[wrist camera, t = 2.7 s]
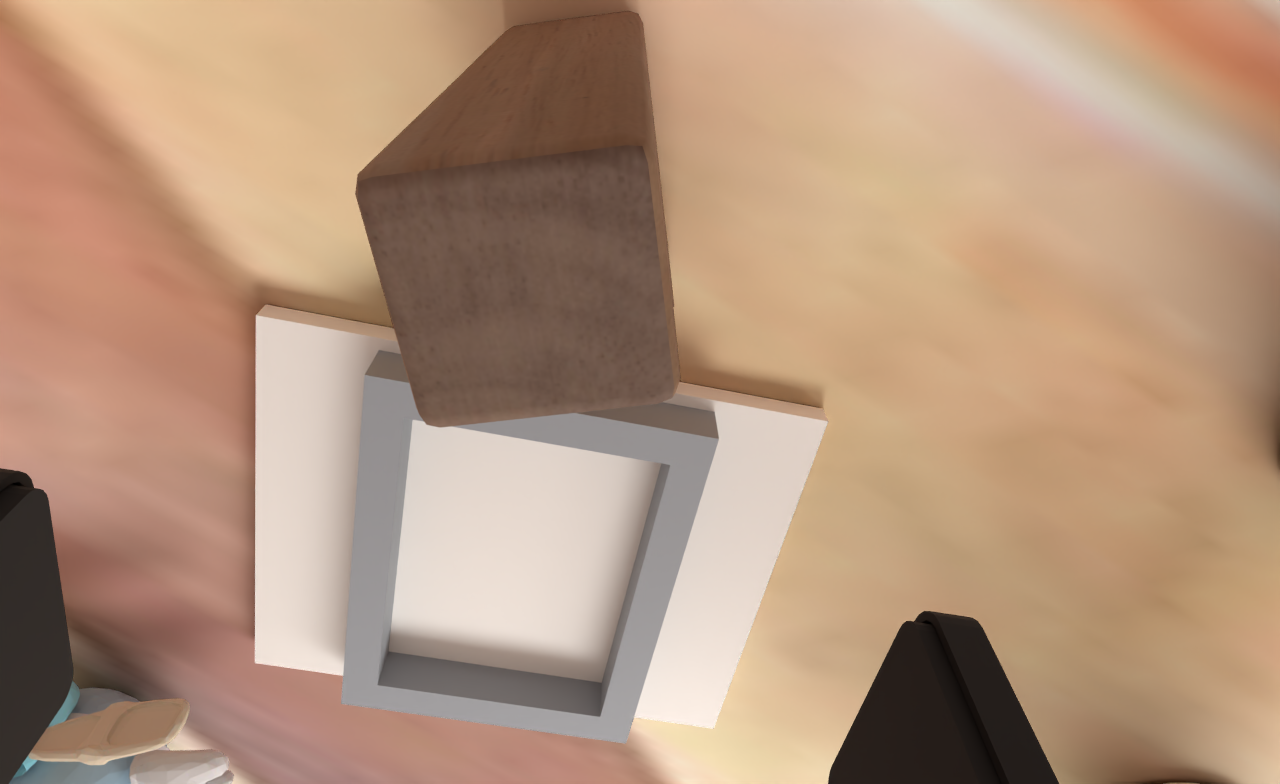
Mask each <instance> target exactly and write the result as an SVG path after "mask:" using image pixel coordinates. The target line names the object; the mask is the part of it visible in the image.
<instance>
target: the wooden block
mask: <svg viewBox="0 0 1280 784" xmlns="http://www.w3.org/2000/svg"><path fill="white" fill-rule="evenodd" d="M356 198H357V201H358V205H359V208H360V212H361V215H362V219H363V222H364V226H365V229H366V233H367V236H368V240H369V243H370V247H371V250H372V254H373V257H374V261H375V264H376V268H377V271H378V275H379V278H380V282H381V285H382V289H383V292H384V296H385V299H386V303H387V306H388V310H389V313H390V317H391V320H392V324H393V327H394V331H395V334H396V338H397V342H398V345H399V349H400V352H401V356H402V359H403V363H404V366H405V370H406V373H407V377H408V380H409V384H410V387H411V391H412V394H413V398H414V401H415V405H416V408H417V410H418V413H419V415H420V416H421V418H422V419H423V421H424V422H425V423H426V425H430V426H435V427H440V428H441V427H451V426H460V425H469V424H478V423H487V422H496V421H505V420H514V419H524V418H533V417H542V416H551V415H560V414H569V413H578V412H587V411H596V410H606V409H615V408H624V407H633V406H642V405H651V404H659V403H662V402H664V401H666V400H668V399H671V398H673V396H674V395H675V393H676V390H677V387H678V384H679V381H680V378H681V377H680V368H679V358H678V348H677V339H676V329H675V319H674V310H673V307H674V299H673V290H672V281H671V271H670V262H669V253H668V244H667V235H666V226H665V217H664V208H663V199H662V190H661V181H660V172H659V163H658V154H657V145H656V136H655V127H654V118H653V109H652V100H651V91H650V82H649V73H648V64H647V55H646V47H645V38H644V29H643V22H642V20H641V18H640V16H639V15H638V14H637V13H634V12H630V11H625V12H617V13H610V14H602V15H595V16H587V17H580V18H572V19H565V20H557V21H550V22H542V23H535V24H527V25H520V26H514V27H512V28H511V29H509V30H507V31H506V32H505V33H504V34H503V35H502V36H501V37H500V38H498V39H497V40H496V41H495V42H494V43H493V44H492V45H491V46H490V47H489V48H488V49H487V50H486V51H485V52H484V53H483V54H482V55H481V56H480V57H479V58H478V59H477V60H476V61H475V62H474V63H473V64H471V65H470V66H469V67H468V68H467V69H466V70H465V71H464V72H463V73H462V74H461V75H460V76H459V77H458V78H457V79H456V80H455V81H454V82H453V83H452V84H451V85H450V86H449V87H448V88H447V89H446V90H445V91H444V92H443V93H442V94H440V95H439V96H438V97H437V98H436V99H435V100H434V101H433V102H432V103H431V104H430V105H429V106H428V107H427V108H426V109H425V110H424V111H423V112H422V113H421V114H420V115H419V116H418V117H417V118H416V119H415V120H414V121H412V122H411V123H410V124H409V125H408V126H407V127H406V128H405V129H404V130H403V131H402V132H401V133H400V134H399V135H398V136H397V137H396V138H395V139H394V140H393V141H392V142H391V143H390V144H389V145H388V146H387V147H386V148H384V149H383V150H382V151H381V152H380V153H379V154H378V155H377V156H376V157H375V158H374V159H373V160H372V161H371V162H370V163H369V164H368V165H367V166H366V167H365V168H364V169H363V170H362V171H361V172H360V173H359V174H358V177H357V186H356Z"/></svg>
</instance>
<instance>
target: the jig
mask: <svg viewBox="0 0 1280 784" xmlns="http://www.w3.org/2000/svg"><path fill="white" fill-rule="evenodd" d="M827 424H828V419H827V417H826V414H825V412H824V409H822V408H817V407H812V406H806V405H801V404H796V403H790V402H785V401H779V400H774V399H769V398H763V397H758V396H753V395H747V394H742V393H737V392H731V391H726V390H721V389H715V388H710V387H705V386H699V385H694V384H689V383H683V382H679V384H678V387H677V390H676V393H675V395H674V396H673V398H671V399H668V400H666V401H664V402H662V403H659V404H651V405H642V406H633V407H624V408H615V409H606V410H596V411H587V412H578V413H569V414H560V415H551V416H542V417H533V418H524V419H514V420H505V421H496V422H487V423H478V424H469V425H460V426H451V427H441V428H440V427H435V426H430V425H426V423H425V422H424V421H423V419H422V418H421V416H420V415H419V413H418V410H417V408H416V405H415V401H414V398H413V394H412V391H411V387H410V384H409V380H408V377H407V373H406V370H405V366H404V363H403V359H402V356H401V352H400V349H399V345H398V342H397V338H396V334H395V331H394V328H390V327H384V326H379V325H374V324H368V323H363V322H358V321H352V320H347V319H342V318H336V317H331V316H326V315H320V314H315V313H309V312H304V311H299V310H293V309H288V308H283V307H277V306H272V305H267V304H266V305H265V306H264V307H263V308H262V309H261V310H260V311H259V312H258V313H257V314H256V449H255V663H258V664H265V665H272V666H279V667H286V668H293V669H300V670H307V671H314V672H321V673H328V674H335V675H342V676H343V686H342V700H341V704H347V705H354V706H361V707H368V708H375V709H382V710H390V711H397V712H404V713H411V714H418V715H425V716H433V717H440V718H447V719H454V720H461V721H468V722H476V723H483V724H490V725H497V726H504V727H511V728H518V729H526V730H533V731H540V732H547V733H554V734H561V735H569V736H576V737H583V738H590V739H597V740H604V741H612V742H619V743H626V742H627V738H628V735H629V732H630V728H631V725H632V722H633V719H634V717H636V718H643V719H650V720H657V721H664V722H671V723H678V724H685V725H691V726H698V727H705V728H712V729H714V726H715V724H716V721H717V718H718V716H719V713H720V710H721V708H722V705H723V702H724V700H725V697H726V694H727V692H728V689H729V686H730V684H731V681H732V678H733V676H734V673H735V670H736V667H737V665H738V662H739V659H740V657H741V654H742V651H743V649H744V646H745V643H746V641H747V638H748V635H749V633H750V630H751V627H752V625H753V622H754V619H755V617H756V614H757V611H758V609H759V606H760V603H761V600H762V598H763V595H764V592H765V590H766V587H767V584H768V582H769V579H770V576H771V574H772V571H773V568H774V566H775V563H776V560H777V558H778V555H779V552H780V550H781V547H782V544H783V542H784V539H785V536H786V533H787V531H788V528H789V525H790V523H791V520H792V517H793V515H794V512H795V509H796V507H797V504H798V501H799V499H800V496H801V493H802V491H803V488H804V485H805V483H806V480H807V477H808V475H809V472H810V469H811V467H812V464H813V461H814V458H815V456H816V453H817V450H818V448H819V445H820V442H821V440H822V437H823V434H824V432H825V429H826V426H827Z"/></svg>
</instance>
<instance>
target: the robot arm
mask: <svg viewBox="0 0 1280 784" xmlns="http://www.w3.org/2000/svg"><path fill="white" fill-rule="evenodd" d="M72 679H73V663H72V656H71V650H70V643H69V636H68V629H67V623H66V616H65V609H64V602H63V596H62V589H61V582H60V575H59V568H58V562H57V555H56V548H55V541H54V535H53V528H52V521H51V514H50V507H49V501H48V497H47V494H46V493H45V492H44V491H43V490H41V489H36V488H34V486H33V483H32V480H31V478H30V477H29V476H28V475H27V474H26V473H23V472H20V471H14V470H7V469H1V468H0V784H9V783H10V781H11V780H12V778H13V777H14V775H15V774H16V772H17V771H18V769H19V768H20V767H21V765H22V764H23V762H24V761H25V759H26V758H27V756H28V755H29V753H30V752H31V751H32V749H33V748H34V746H35V745H36V743H37V742H38V740H39V739H40V738H41V736H42V735H43V733H44V732H45V730H46V729H47V727H48V726H49V724H50V723H51V722H52V720H53V719H54V717H55V716H56V714H57V713H58V711H59V710H60V708H61V707H62V705H63V704H64V702H65V700H66V698H67V696H68V693H69V691H70V687H71V684H72ZM828 784H1059V782H1058V780H1057V778H1056V776H1055V774H1054V772H1053V770H1052V768H1051V766H1050V764H1049V762H1048V760H1047V758H1046V756H1045V754H1044V752H1043V750H1042V748H1041V746H1040V744H1039V742H1038V740H1037V738H1036V736H1035V734H1034V732H1033V729H1032V727H1031V725H1030V723H1029V721H1028V719H1027V717H1026V715H1025V713H1024V711H1023V709H1022V707H1021V705H1020V703H1019V701H1018V699H1017V697H1016V695H1015V693H1014V691H1013V689H1012V687H1011V685H1010V683H1009V681H1008V679H1007V677H1006V675H1005V673H1004V671H1003V668H1002V666H1001V664H1000V662H999V660H998V658H997V656H996V654H995V652H994V650H993V648H992V646H991V644H990V642H989V640H988V638H987V636H986V634H985V632H984V630H983V628H982V627H981V625H980V624H979V622H978V621H977V620H975V619H973V618H970V617H964V616H957V615H951V614H944V613H938V612H931V611H924V612H922V613H921V614H919V615H918V617H917V618H916V620H915V621H914V622H913V621H906V622H905V623H904V624H903V625H902V626H901V628H900V629H899V631H898V633H897V635H896V637H895V639H894V641H893V643H892V646H891V648H890V650H889V652H888V654H887V656H886V658H885V660H884V662H883V664H882V666H881V668H880V670H879V672H878V674H877V676H876V678H875V680H874V682H873V684H872V686H871V688H870V690H869V692H868V694H867V696H866V698H865V700H864V702H863V704H862V706H861V708H860V710H859V712H858V714H857V716H856V718H855V720H854V722H853V724H852V726H851V729H850V731H849V733H848V735H847V737H846V739H845V741H844V743H843V745H842V747H841V749H840V751H839V753H838V755H837V757H836V759H835V761H834V763H833V765H832V767H831V770H830V774H829V781H828ZM1165 784H1198V783H1165Z"/></svg>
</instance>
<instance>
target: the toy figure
mask: <svg viewBox="0 0 1280 784" xmlns="http://www.w3.org/2000/svg"><path fill="white" fill-rule="evenodd" d="M189 711H190V705H189V703H188V702H187V701H186V700H184V699H180V698H175V699H160V700H151V701H144V702H139V701H138V700H137V699H136V698H134V697H131V696H129V695H127V694H124V693H122V692H120V691H115V690H111V689H104V688H92V687H91V688H84V689H79V687H78V686H77V685H76V684H75V683H74V681H73V680H72V684H71V687H70V691H69V693H68V696H67V698H66V700H65V702H64V704H63V705H62V707H61V708H60V710H59V711H58V713H57V714H56V716H55V717H54V719H53V720H52V722H51V723H50V724H49V726H48V727H47V729H46V730H45V732H44V733H43V735H42V736H41V738H40V739H39V740H38V742H37V743H36V745H35V746H34V748H33V749H32V751H31V752H30V753H29V755H28V756H27V758H26V759H25V761H24V762H23V764H22V765H21V767H20V768H19V769H18V771H17V772H16V774H15V775H14V777H13V778H12V780H11V781H10V783H9V784H232V782H233V776H234V774H233V773H232V772H231V771H230V770H227V769H228V767H229V760H228V757H227V756H226V755H224V754H223V753H222V752H220V751H216V750H212V749H210V750H189V751H170V750H169V749H168V748H167V744H168V743H170V742H171V741H172V740H173V739H174V738H175V737H176V736H177V735H178V733H179V732H180V731H181V729H182V728H183V726H184V725H185V722H186V720H187V718H188V714H189Z"/></svg>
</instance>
